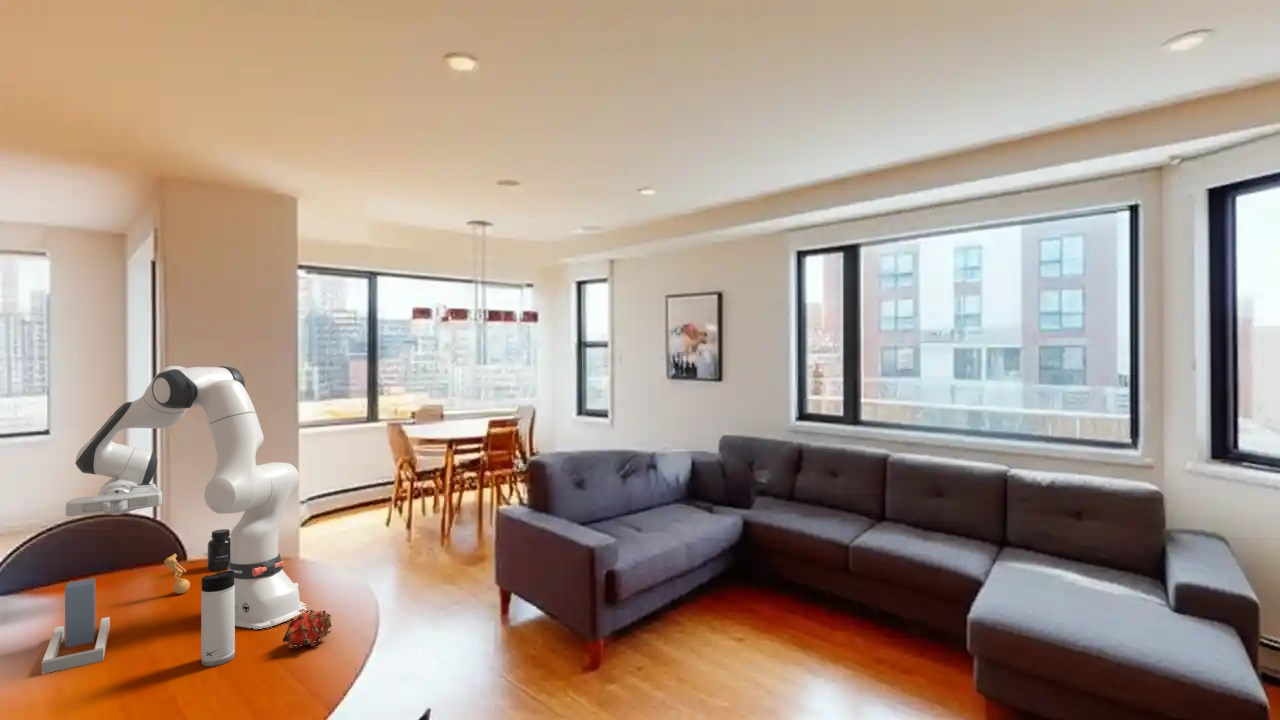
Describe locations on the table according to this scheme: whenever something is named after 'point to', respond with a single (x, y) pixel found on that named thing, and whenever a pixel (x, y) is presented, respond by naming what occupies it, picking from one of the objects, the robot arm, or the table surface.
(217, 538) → the supplement bottle
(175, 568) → the figurine
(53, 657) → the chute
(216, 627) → the travel mug
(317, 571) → the table surface
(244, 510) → the robot arm
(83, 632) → the block
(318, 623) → the dragon fruit
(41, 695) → the table surface
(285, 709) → the table surface
